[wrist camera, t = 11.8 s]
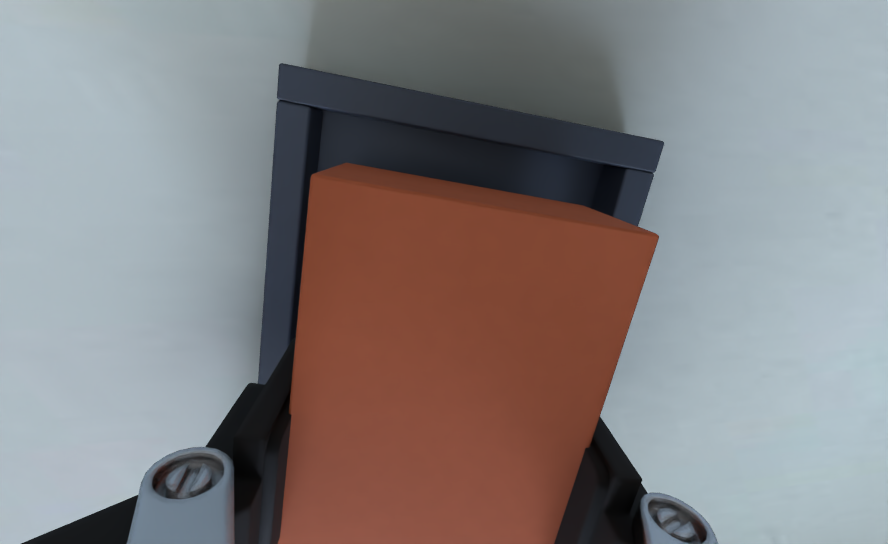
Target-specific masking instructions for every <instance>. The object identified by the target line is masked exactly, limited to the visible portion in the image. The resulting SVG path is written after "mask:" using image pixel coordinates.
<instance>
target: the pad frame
mask: <svg viewBox="0 0 888 544" xmlns="http://www.w3.org/2000/svg"><path fill="white" fill-rule="evenodd" d="M277 98H278V99H279V100H280V101H278V102H277V111H276V126H275V140H274V155H273V170H272V185H271V199H270V214H269V229H268V244H267V258H266V273H265V288H264V303H263V317H262V332H261V347H260V362H259V376H258V384H266V383H267V381H268V379H269V378H270V376H271V374H272V373H273V371H274V370H275V368H276V366H277V365H278V363H279V361H280V360H281V358H282V356H283V355H284V353H285V351H286V350H287V348H288V346H289V345H290V343H291V341H292V340H293V338H296V330H297V319H298V308H299V297H300V286H301V276H302V265H303V254H304V243H305V233H306V222H307V211H308V200H309V189H310V179H311V175H312V174H314V173H317V172H320V171H323V170H326V169H329V168H332V167H335V166H338V165H341V164H344V163H351V164H357V165H362V166H368V167H374V168H379V169H385V170H390V171H396V172H401V173H407V174H412V175H418V176H423V177H429V178H434V179H440V180H445V181H451V182H456V183H462V184H467V185H473V186H478V187H484V188H489V189H495V190H500V191H506V192H511V193H517V194H523V195H528V196H534V197H539V198H545V199H550V200H556V201H561V202H567V203H572V204H578V205H583V206H586V207H588V208H591V209H594V210H596V211H599V212H601V213H604V214H606V215H609V216H612V217H614V218H617V219H619V220H622V221H624V222H627V223H630V224H632V225H635V226H637V227H638V224H639V221H640V218H641V215H642V211H643V208H644V205H645V202H646V199H647V196H648V192H649V189H650V186H651V183H652V180H653V177H654V174H653V173H654V172H655V171H656V168H657V165H658V162H659V158H660V155H661V152H662V149H663V146H664V142H663V141H659V140H654V139H649V138H645V137H640V136H635V135H630V134H625V133H620V132H615V131H610V130H606V129H601V128H596V127H591V126H586V125H581V124H576V123H571V122H566V121H562V120H557V119H552V118H547V117H542V116H537V115H532V114H527V113H523V112H518V111H513V110H508V109H503V108H498V107H493V106H488V105H483V104H479V103H474V102H469V101H464V100H459V99H454V98H449V97H444V96H440V95H435V94H430V93H425V92H420V91H415V90H410V89H405V88H400V87H396V86H391V85H386V84H381V83H376V82H371V81H366V80H361V79H356V78H352V77H347V76H342V75H337V74H332V73H327V72H322V71H317V70H313V69H308V68H303V67H298V66H293V65H288V64H283V63H281V64H280V65H279V76H278V91H277Z"/></svg>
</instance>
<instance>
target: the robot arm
mask: <svg viewBox="0 0 888 544" xmlns="http://www.w3.org/2000/svg"><path fill="white" fill-rule="evenodd" d="M295 340H296V338H293V340H292V341H291V343H290V345H289V346H288V348H287V350H286V351H285V353H284V355H283V356H282V358H281V360H280V361H279V363H278V365H277V366H276V368H275V370H274V371H273V373H272V374H271V376H270V378H269V379H268V381H267V383H266V384H256V383H249V384H248V385H247V386H246V388H245V389H244V391H243V392H242V394H241V395H240V397H239V398H238V400H237V401H236V403H235V404H234V405H233V407H232V408H231V410H230V411H229V413H228V414H227V416H226V417H225V419H224V420H223V422H222V423H221V425H220V426H219V428H218V429H217V431H216V432H215V434H214V435H213V436H212V438H211V439H210V441H209V442H208V444H207V445H206V447H193V448H188V449H184V450H179V451H177V452H174V453H172V454H169V455H167V456H165V457H163V458H162V459H160V460H159V461H157V462H156V463H154V464H153V465H152V467H151V468H150V469H149V470H148V471H147V472H146V473H145V476H144V478H143V480H142V482H141V486H140V490H139V495H137V496H134V497H132V498H130V499H127V500H125V501H122V502H120V503H118V504H115V505H113V506H110V507H108V508H106V509H103V510H101V511H98V512H96V513H94V514H91V515H89V516H86V517H84V518H82V519H79V520H77V521H74V522H72V523H70V524H67V525H65V526H62V527H60V528H58V529H55V530H53V531H50V532H48V533H46V534H43V535H41V536H38V537H36V538H34V539H31V540H29V541H26V542H24V543H22V544H278V541H279V538H280V531H281V521H282V510H283V500H284V489H285V479H286V468H287V458H288V448H289V437H290V427H291V416H292V415H291V414H289V405H290V394H291V384H292V373H293V362H294V351H295ZM641 482H642V478H641V477H640V475H639V474H638V472H637V471H636V469H635V468H634V467H633V465H632V464H631V462H630V461H629V459H628V458H627V456H626V455H625V453H624V452H623V450H622V449H621V447H620V446H619V444H618V443H617V441H616V440H615V438H614V437H613V435H612V434H611V432H610V431H609V429H608V428H607V426H606V425H605V423H604V422H603V420H602V419H601V417H599V420H598V423H597V426H596V429H595V432H594V435H593V438H592V441H591V444H590V447H589V448H585V451H584V454H583V457H582V461H581V464H580V467H579V470H578V473H577V476H576V479H575V482H574V485H573V488H572V491H571V494H570V497H569V500H568V503H567V506H566V509H565V512H564V515H563V518H562V521H561V524H560V527H559V530H558V533H557V536H556V540H555V543H554V544H718V542H717V539H716V537H715V534H714V532H713V530H712V528H711V527H710V525H709V523H708V522H707V521H706V520H705V519H704V518H703V517H702V515H700V514H699V513H698V512H697V511H696V510H694V509H693V508H692V507H691V506H689V505H687V504H686V503H684V502H683V501H681V500H679V499H677V498H674V497H672V496H670V495H666V494H662V493H649V494H648V493H647V492H646V490H645V489H644V487H643V485H642V484H641Z"/></svg>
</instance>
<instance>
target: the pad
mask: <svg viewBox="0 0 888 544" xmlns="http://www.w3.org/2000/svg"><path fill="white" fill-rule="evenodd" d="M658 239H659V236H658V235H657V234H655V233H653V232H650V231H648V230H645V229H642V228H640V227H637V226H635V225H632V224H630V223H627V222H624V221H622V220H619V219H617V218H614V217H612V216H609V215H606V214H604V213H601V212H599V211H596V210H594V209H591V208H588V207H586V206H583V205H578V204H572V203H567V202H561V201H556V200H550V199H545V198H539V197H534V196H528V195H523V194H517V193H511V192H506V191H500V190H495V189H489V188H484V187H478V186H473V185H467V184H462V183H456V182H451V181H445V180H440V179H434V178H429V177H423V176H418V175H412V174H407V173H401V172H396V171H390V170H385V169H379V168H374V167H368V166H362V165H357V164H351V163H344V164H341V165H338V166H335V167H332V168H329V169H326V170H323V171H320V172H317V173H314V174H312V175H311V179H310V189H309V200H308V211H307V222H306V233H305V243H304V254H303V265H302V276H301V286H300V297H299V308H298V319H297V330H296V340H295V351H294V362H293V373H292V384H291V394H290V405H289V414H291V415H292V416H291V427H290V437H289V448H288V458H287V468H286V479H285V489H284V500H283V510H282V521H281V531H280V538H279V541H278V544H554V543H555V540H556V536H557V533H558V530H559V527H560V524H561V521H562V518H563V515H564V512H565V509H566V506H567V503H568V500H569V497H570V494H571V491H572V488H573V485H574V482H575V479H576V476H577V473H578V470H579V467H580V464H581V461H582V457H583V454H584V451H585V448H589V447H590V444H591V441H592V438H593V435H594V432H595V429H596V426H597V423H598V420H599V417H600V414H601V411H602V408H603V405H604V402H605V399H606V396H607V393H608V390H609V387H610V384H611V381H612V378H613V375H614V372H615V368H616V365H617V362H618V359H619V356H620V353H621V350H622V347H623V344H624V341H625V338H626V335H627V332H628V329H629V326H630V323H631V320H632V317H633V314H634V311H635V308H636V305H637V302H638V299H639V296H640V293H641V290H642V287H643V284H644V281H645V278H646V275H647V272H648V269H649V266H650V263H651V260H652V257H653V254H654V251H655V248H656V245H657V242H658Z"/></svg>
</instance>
